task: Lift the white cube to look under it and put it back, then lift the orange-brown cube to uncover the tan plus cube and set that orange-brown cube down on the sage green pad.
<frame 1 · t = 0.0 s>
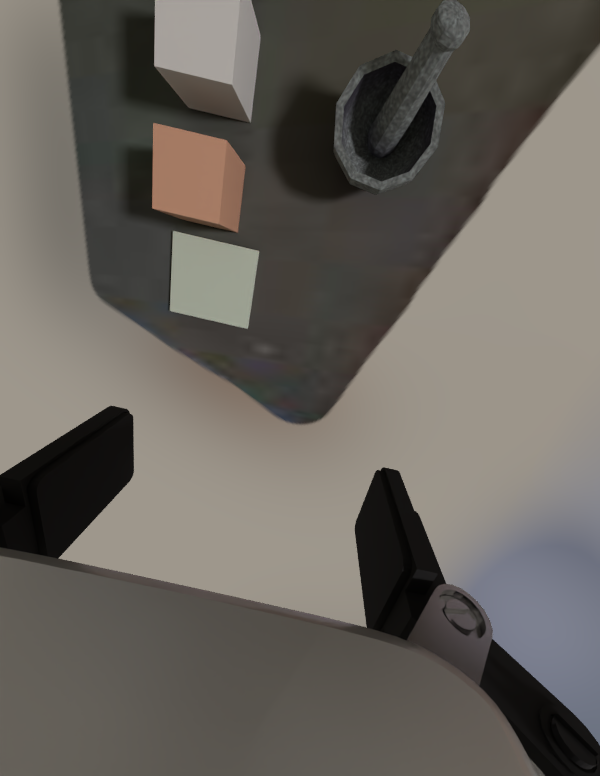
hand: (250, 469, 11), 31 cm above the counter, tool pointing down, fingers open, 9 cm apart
orange-brown cube: (213, 193, 35), on the counter
mortar and pestle: (378, 148, 32), on the counter
white cube: (223, 73, 30), on the counter
sage pad: (213, 282, 38), on the counter
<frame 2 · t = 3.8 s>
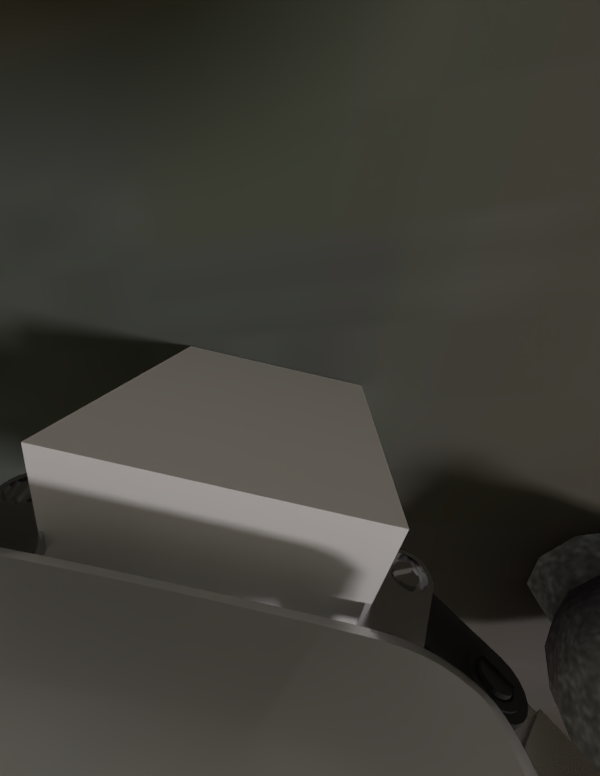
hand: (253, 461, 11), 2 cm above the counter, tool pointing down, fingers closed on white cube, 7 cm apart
white cube: (262, 438, 13), on the counter, touching gripper
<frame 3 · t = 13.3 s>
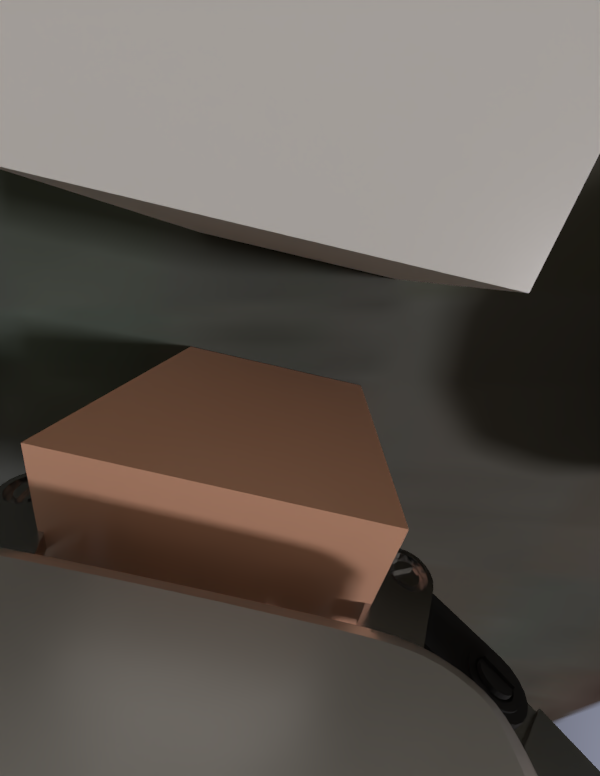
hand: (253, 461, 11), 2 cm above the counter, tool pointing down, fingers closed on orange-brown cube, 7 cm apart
orange-brown cube: (262, 438, 13), on the counter, touching gripper
white cube: (322, 130, 9), on the counter
when the fingers open (3 cm above the counter, at t = 20.2 s): orange-brown cube drops 1 cm, resting on sage pad.
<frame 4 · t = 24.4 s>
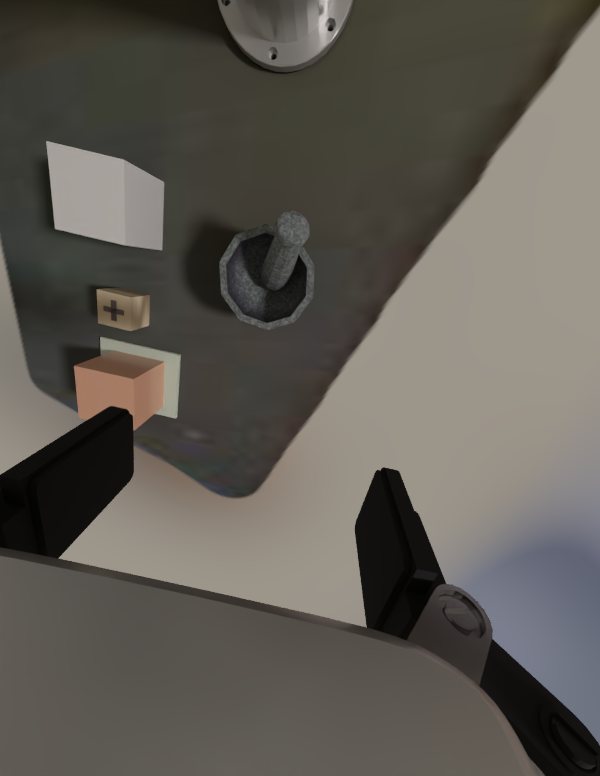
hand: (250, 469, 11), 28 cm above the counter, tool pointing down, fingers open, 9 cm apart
orange-brown cube: (139, 379, 41), resting on sage pad
mortar and pestle: (280, 274, 35), on the counter
tan plus cube: (124, 308, 36), on the counter
white cube: (133, 210, 33), on the counter
sage pad: (141, 378, 41), on the counter
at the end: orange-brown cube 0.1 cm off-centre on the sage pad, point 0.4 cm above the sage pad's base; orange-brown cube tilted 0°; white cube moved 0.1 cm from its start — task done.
